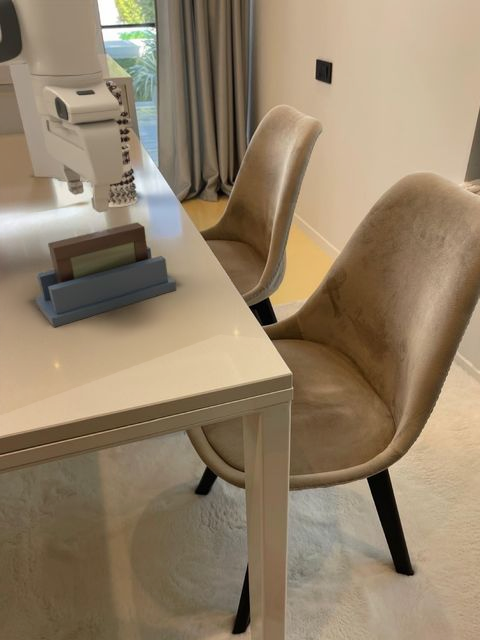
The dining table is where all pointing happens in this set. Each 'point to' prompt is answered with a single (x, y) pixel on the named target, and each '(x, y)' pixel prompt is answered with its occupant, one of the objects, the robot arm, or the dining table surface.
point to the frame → (98, 252)
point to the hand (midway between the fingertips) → (88, 201)
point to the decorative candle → (125, 189)
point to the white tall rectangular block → (34, 126)
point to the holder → (102, 290)
